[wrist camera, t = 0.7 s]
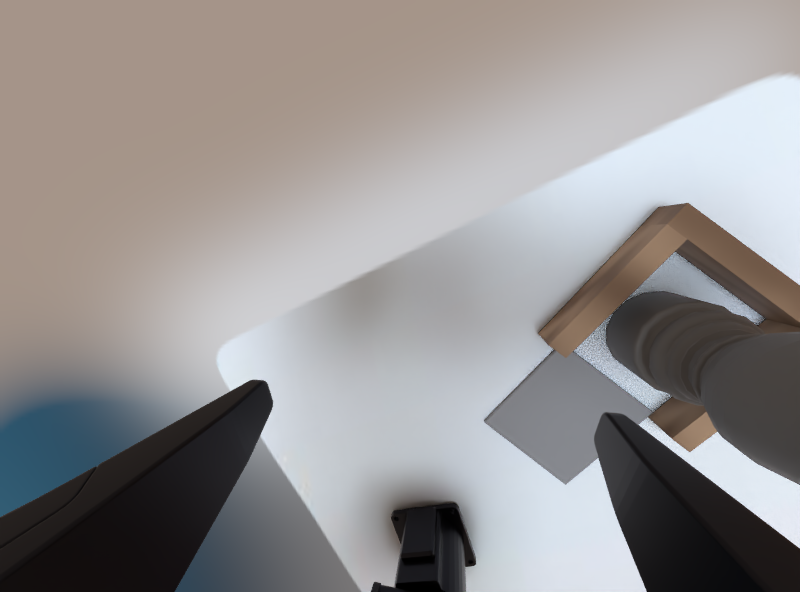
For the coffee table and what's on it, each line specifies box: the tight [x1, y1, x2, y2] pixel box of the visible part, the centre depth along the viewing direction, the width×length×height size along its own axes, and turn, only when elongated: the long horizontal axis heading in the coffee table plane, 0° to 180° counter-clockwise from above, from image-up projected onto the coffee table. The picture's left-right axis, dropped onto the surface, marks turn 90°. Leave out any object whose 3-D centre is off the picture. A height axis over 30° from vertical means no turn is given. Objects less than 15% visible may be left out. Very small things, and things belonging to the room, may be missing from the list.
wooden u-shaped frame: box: [538, 203, 800, 452], centre depth 20 cm, size 12×12×2 cm
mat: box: [484, 350, 653, 485], centre depth 23 cm, size 9×8×1 cm
